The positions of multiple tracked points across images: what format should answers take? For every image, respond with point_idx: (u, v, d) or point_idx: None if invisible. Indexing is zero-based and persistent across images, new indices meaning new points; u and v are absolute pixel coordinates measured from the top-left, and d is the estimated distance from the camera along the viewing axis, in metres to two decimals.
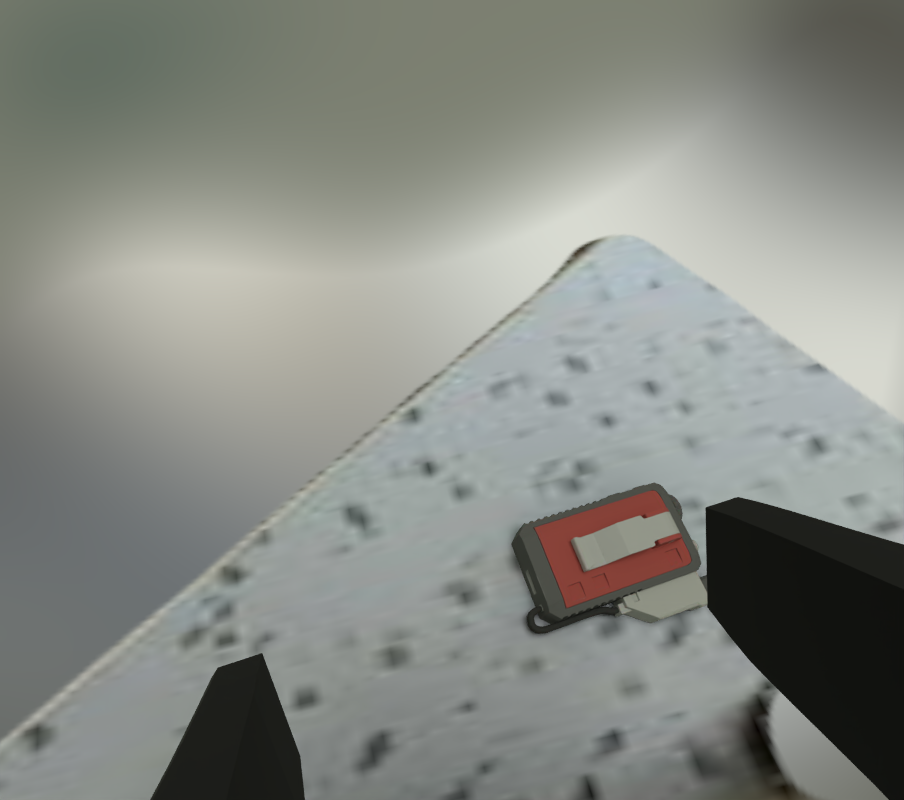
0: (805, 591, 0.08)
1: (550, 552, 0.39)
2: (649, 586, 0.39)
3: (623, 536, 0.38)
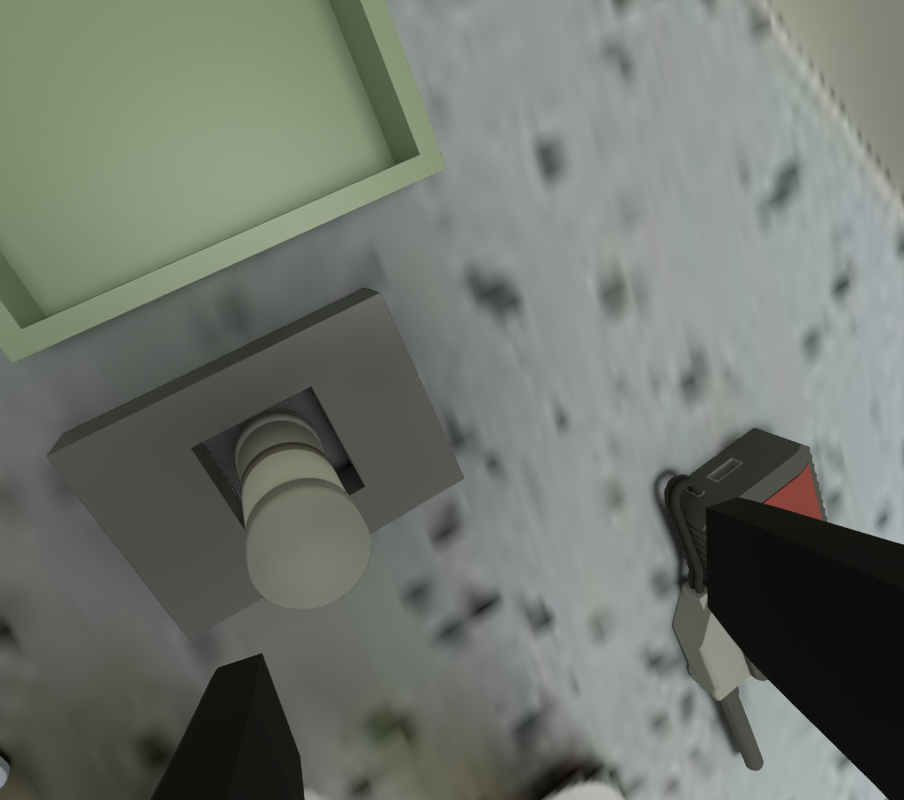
0: (804, 591, 0.08)
1: (783, 494, 0.26)
2: None
3: None
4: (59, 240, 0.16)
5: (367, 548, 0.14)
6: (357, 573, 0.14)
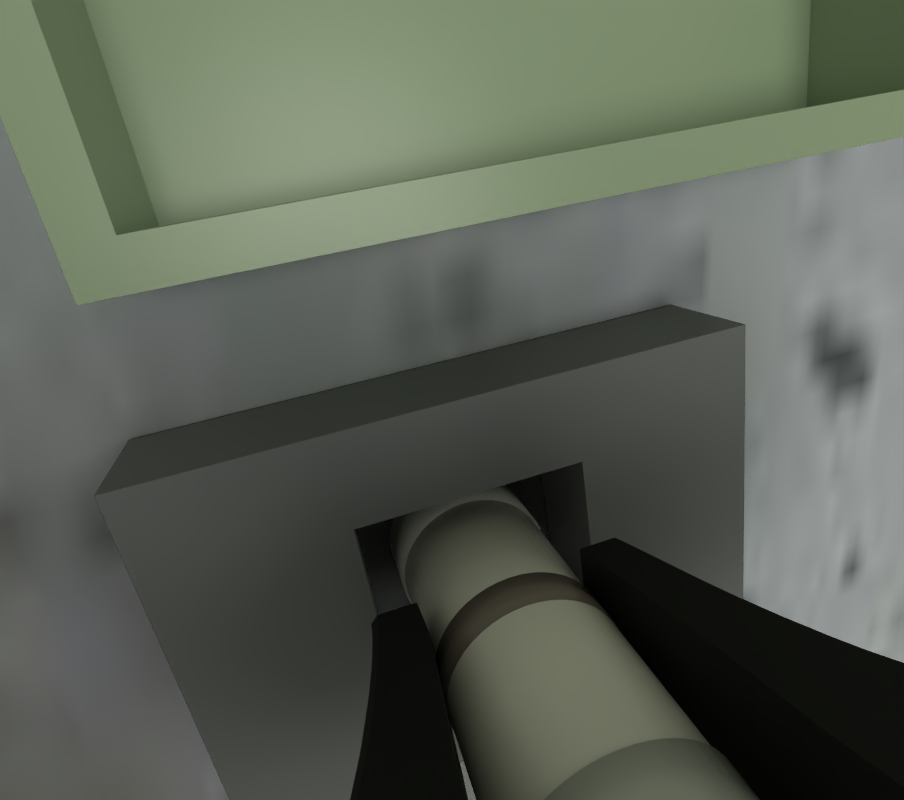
0: (657, 646, 0.07)
1: None
2: None
3: None
4: (223, 84, 0.08)
5: None
6: None
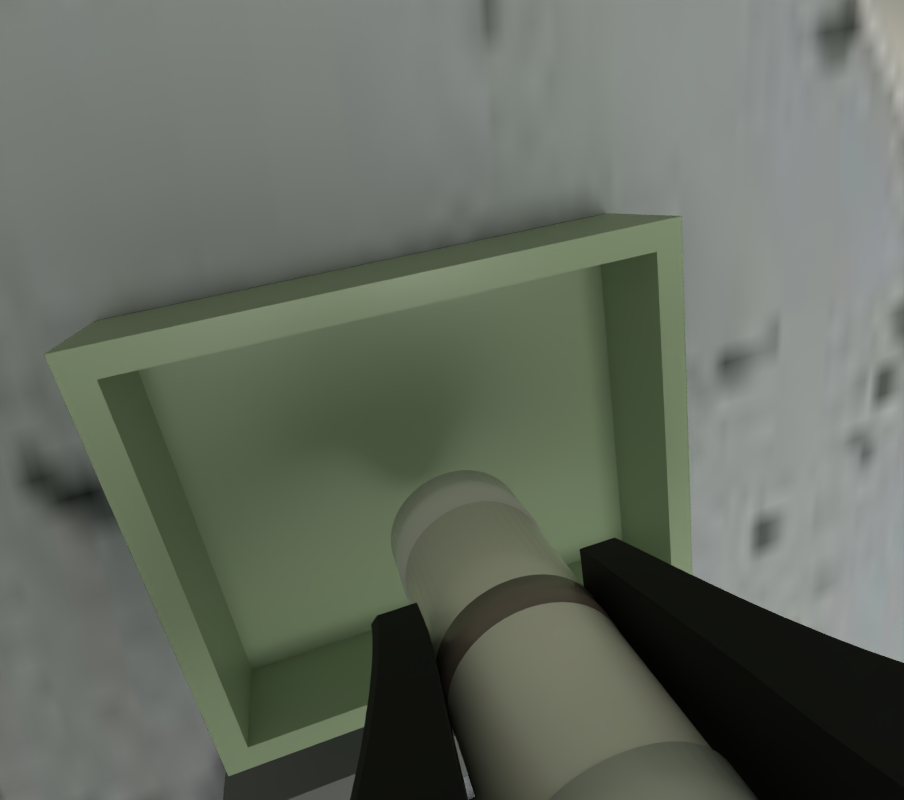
0: (657, 646, 0.07)
1: None
2: None
3: None
4: (287, 604, 0.15)
5: None
6: None
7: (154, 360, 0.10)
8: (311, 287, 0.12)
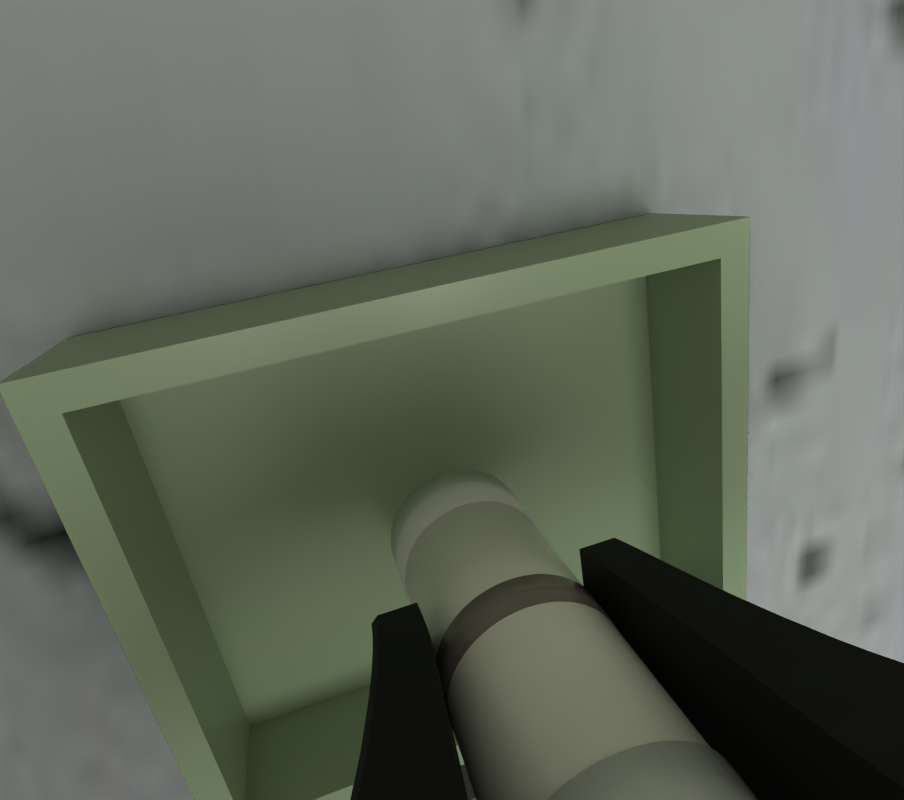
0: (657, 646, 0.07)
1: None
2: None
3: None
4: (290, 653, 0.13)
5: None
6: None
7: (131, 390, 0.09)
8: (319, 300, 0.10)
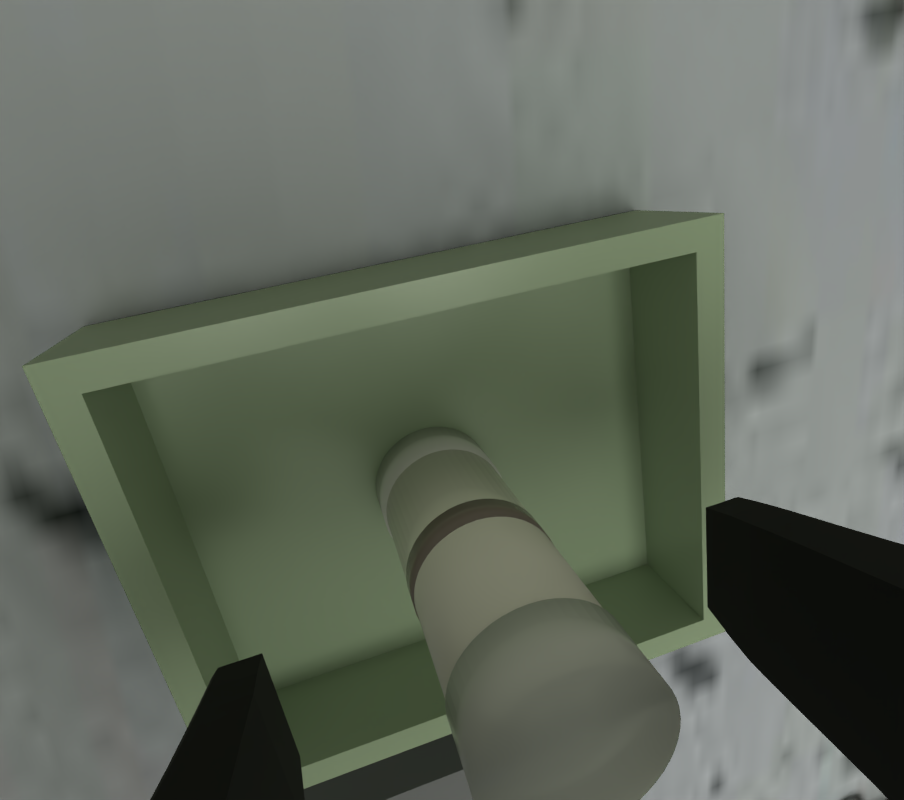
0: (804, 591, 0.08)
1: None
2: None
3: None
4: (291, 628, 0.14)
5: (666, 759, 0.07)
6: (634, 795, 0.08)
7: (145, 372, 0.09)
8: (319, 290, 0.11)
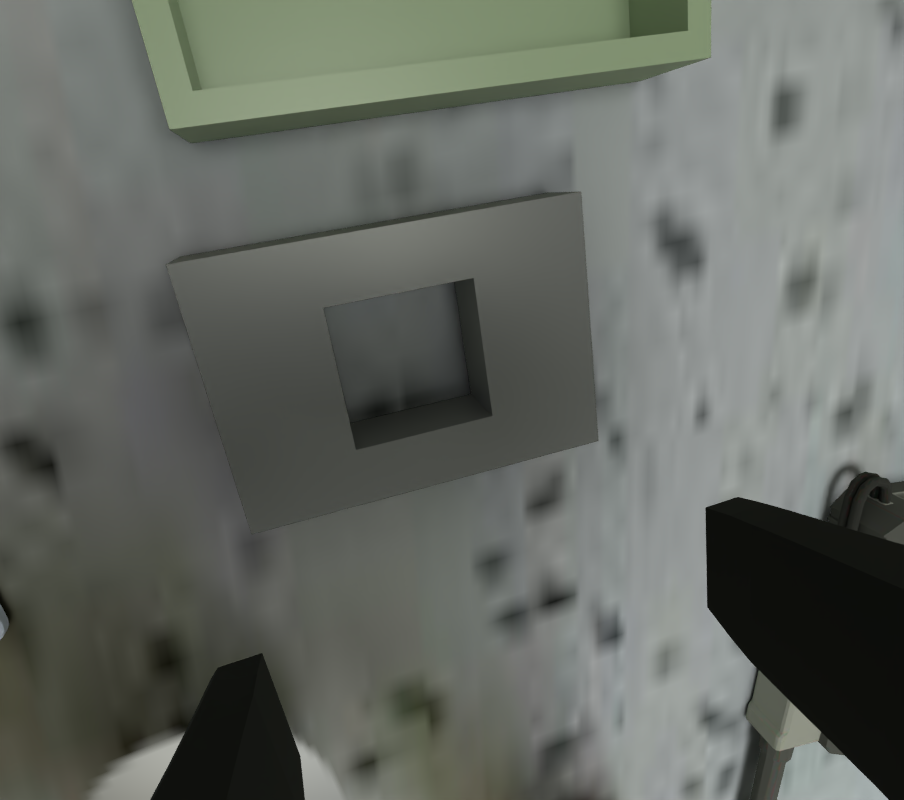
0: (804, 591, 0.08)
1: None
2: None
3: None
4: (248, 21, 0.13)
5: None
6: None
7: None
8: None
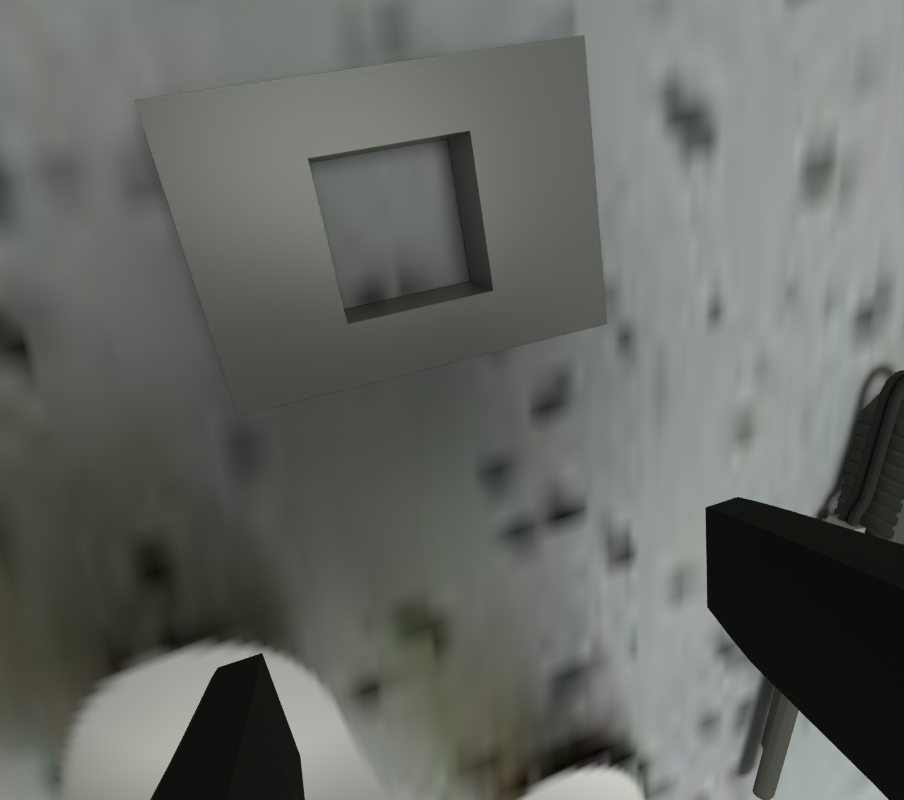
0: (804, 591, 0.08)
1: None
2: None
3: None
4: None
5: None
6: None
7: None
8: None
